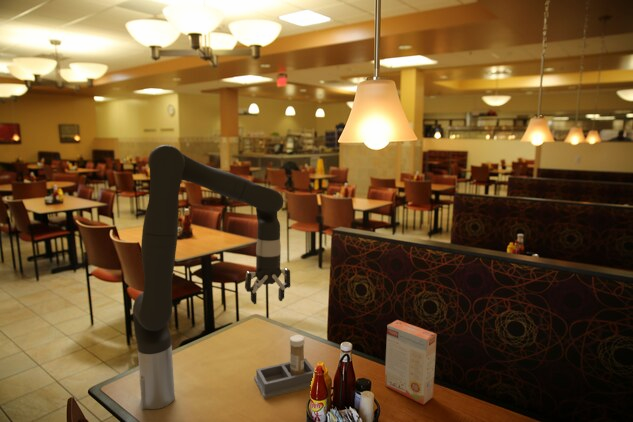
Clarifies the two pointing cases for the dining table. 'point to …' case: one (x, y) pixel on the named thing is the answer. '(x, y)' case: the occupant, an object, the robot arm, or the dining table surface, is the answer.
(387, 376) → the cracker box
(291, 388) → the caddy
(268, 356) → the dining table surface
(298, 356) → the sprinkles bottle
